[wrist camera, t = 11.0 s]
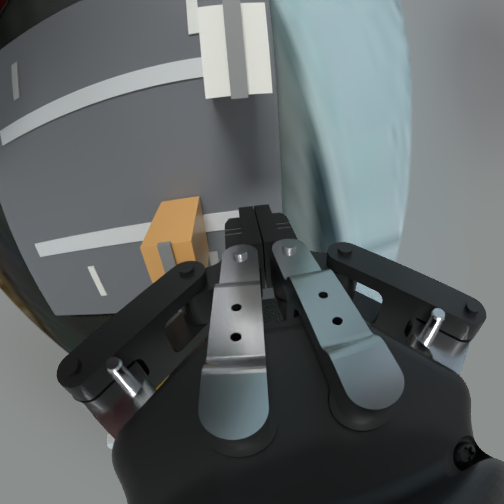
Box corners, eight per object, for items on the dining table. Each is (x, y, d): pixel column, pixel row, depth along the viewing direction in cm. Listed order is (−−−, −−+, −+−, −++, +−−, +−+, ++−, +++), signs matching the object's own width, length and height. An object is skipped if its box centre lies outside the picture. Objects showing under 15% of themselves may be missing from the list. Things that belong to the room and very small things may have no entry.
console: (-9, 67, 7) (-24, 69, 6) (260, -27, 8) (264, -39, 7) (61, 302, 18) (55, 316, 17) (279, 282, 19) (283, 297, 18)
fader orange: (161, 199, 13) (138, 248, 9) (199, 194, 13) (189, 241, 9) (174, 255, 15) (162, 313, 11) (209, 250, 15) (206, 309, 11)
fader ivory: (205, 33, 9) (196, 2, 5) (250, 29, 9) (265, -2, 5) (211, 99, 11) (205, 102, 7) (255, 95, 11) (274, 96, 7)
